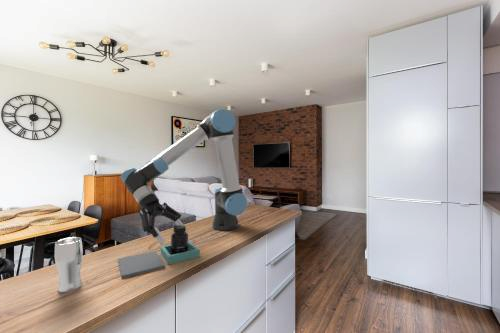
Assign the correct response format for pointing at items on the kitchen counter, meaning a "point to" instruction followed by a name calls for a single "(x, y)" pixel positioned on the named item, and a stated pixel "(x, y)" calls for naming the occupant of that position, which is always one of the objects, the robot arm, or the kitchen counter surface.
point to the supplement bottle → (179, 240)
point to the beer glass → (69, 263)
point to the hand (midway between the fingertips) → (174, 237)
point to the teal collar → (180, 254)
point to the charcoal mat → (139, 264)
